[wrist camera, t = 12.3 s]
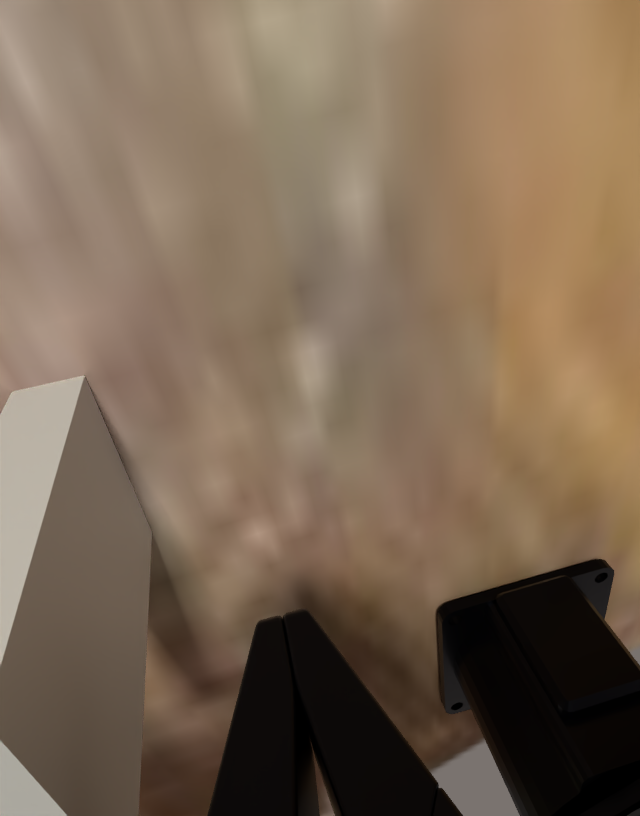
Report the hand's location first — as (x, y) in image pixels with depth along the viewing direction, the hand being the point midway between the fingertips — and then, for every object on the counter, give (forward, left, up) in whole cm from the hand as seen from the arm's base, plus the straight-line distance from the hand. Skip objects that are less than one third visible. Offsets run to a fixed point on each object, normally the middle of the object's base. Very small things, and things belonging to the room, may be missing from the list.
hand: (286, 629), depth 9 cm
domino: (0, +4, -6) cm, 7 cm away
